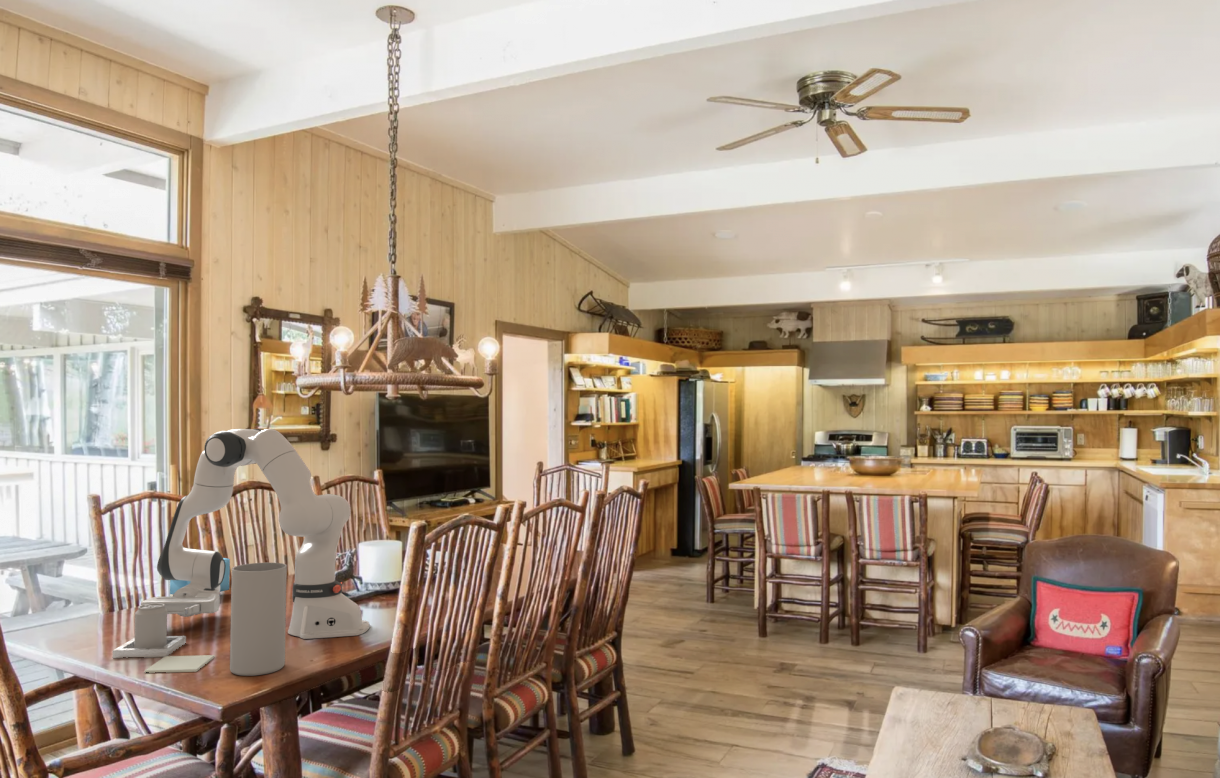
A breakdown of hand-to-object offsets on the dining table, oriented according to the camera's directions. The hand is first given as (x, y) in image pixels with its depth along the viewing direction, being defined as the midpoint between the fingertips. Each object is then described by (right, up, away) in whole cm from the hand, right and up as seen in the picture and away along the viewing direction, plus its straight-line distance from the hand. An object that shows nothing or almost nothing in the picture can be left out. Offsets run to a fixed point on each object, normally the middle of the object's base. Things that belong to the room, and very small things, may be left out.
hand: (169, 611), depth 233 cm
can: (+1, -7, -12) cm, 14 cm away
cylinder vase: (+36, -7, -28) cm, 46 cm away
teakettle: (-18, -9, +51) cm, 55 cm away
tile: (+16, -7, -25) cm, 30 cm away
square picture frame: (+1, -7, -12) cm, 14 cm away
